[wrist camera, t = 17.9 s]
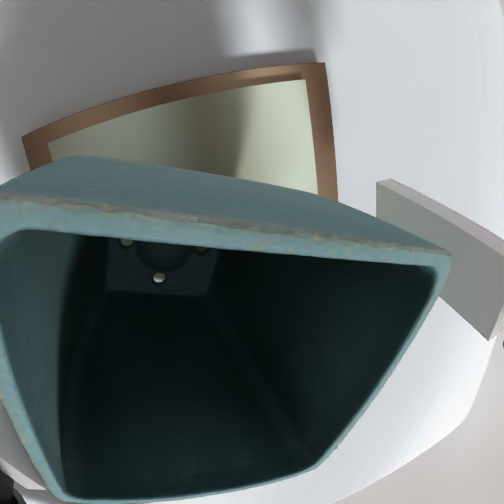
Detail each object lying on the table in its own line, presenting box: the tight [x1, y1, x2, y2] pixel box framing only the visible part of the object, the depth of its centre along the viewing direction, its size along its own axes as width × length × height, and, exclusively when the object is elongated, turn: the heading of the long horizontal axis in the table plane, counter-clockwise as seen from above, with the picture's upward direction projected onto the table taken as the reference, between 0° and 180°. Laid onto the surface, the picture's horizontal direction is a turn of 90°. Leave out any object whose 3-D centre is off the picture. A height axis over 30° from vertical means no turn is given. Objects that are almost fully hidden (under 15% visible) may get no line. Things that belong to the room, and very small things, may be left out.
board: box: [21, 63, 338, 282], centre depth 20 cm, size 13×34×1 cm, turn 9°
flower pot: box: [0, 156, 453, 504], centre depth 9 cm, size 9×9×9 cm
